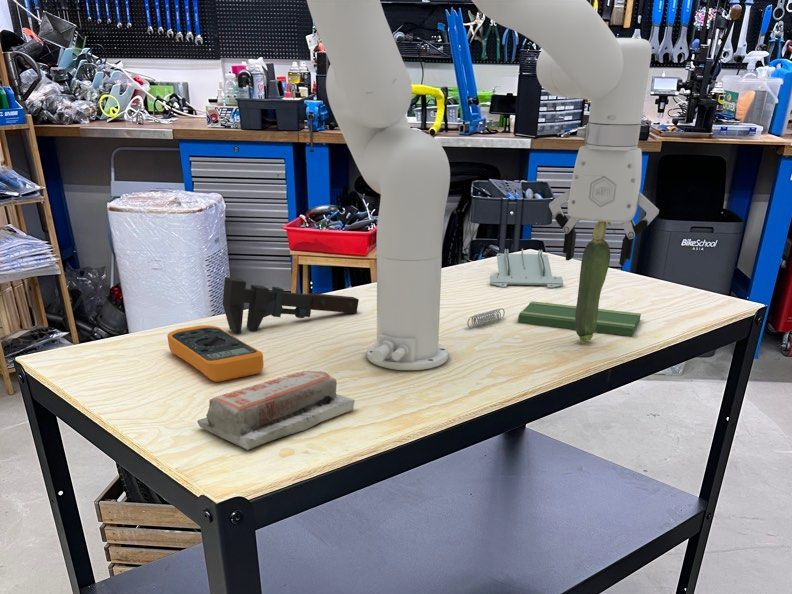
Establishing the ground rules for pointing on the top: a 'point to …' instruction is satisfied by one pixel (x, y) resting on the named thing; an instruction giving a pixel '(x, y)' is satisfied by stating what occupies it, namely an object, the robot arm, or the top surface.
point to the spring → (486, 317)
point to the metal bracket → (524, 270)
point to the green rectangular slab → (566, 318)
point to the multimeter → (215, 352)
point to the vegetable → (591, 282)
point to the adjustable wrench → (276, 303)
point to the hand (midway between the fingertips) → (595, 260)
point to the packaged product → (275, 408)
